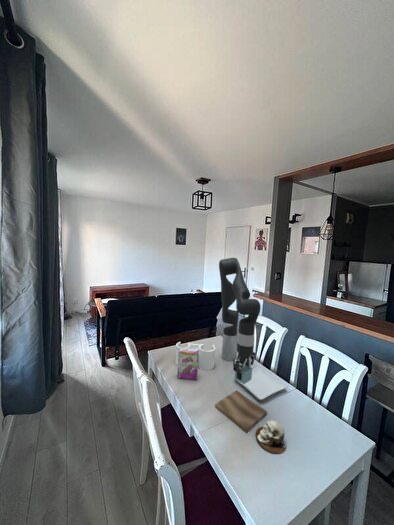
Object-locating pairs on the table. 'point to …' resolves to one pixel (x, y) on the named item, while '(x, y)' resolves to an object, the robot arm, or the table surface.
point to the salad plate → (262, 384)
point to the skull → (271, 437)
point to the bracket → (200, 356)
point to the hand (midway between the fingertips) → (243, 376)
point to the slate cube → (245, 374)
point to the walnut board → (241, 410)
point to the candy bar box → (188, 363)
